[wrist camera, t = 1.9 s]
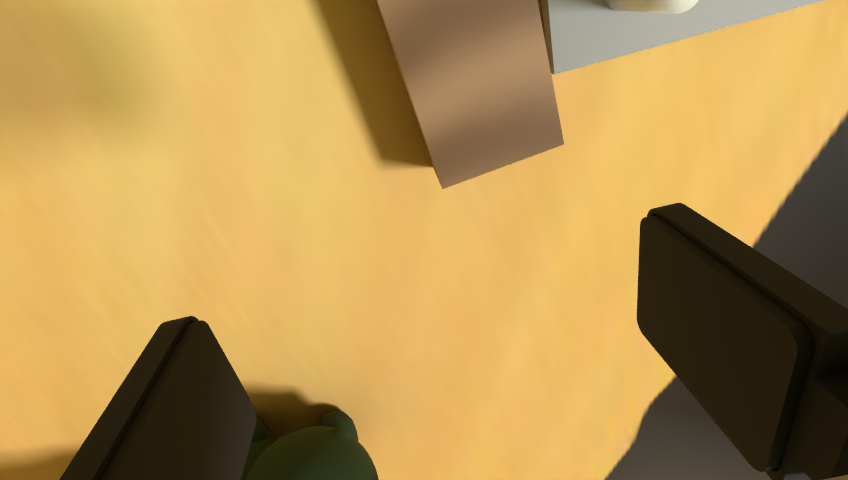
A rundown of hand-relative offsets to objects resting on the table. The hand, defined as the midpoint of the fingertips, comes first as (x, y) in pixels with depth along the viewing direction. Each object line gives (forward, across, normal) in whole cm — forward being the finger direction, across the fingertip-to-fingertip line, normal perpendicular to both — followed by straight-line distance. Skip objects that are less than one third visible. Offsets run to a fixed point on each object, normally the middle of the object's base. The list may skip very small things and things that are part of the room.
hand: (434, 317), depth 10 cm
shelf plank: (+19, -4, -5) cm, 20 cm away
